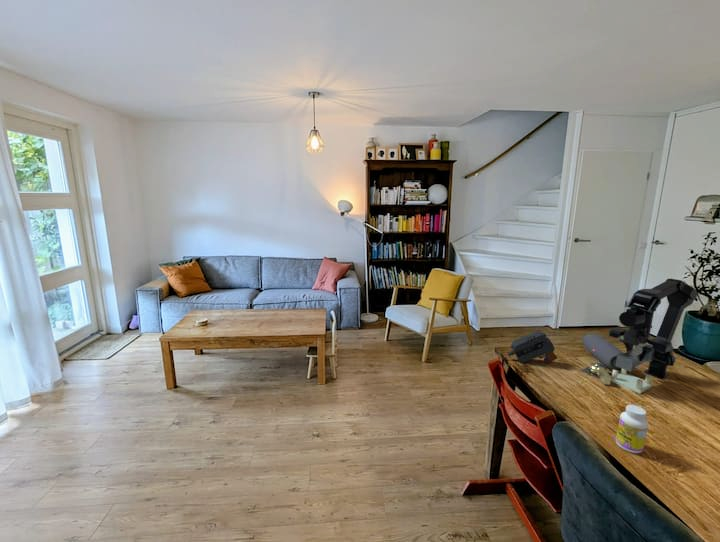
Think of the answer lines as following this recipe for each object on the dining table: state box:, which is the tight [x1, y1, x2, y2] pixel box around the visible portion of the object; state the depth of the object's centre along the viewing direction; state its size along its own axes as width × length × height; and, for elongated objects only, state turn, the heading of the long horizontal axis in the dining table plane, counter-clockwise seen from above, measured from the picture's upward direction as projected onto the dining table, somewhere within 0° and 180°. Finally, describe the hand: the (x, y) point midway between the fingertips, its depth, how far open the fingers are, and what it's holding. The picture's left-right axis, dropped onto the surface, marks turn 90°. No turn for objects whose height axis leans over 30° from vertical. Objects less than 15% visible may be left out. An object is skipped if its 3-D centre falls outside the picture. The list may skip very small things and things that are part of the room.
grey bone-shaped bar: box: [615, 343, 655, 373], centre depth 134 cm, size 19×5×5 cm, turn 119°
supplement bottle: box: [615, 404, 649, 454], centre depth 101 cm, size 7×7×13 cm
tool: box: [507, 330, 558, 364], centre depth 154 cm, size 6×19×15 cm, turn 78°
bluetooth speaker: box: [581, 333, 623, 373], centre depth 153 cm, size 23×9×10 cm, turn 172°
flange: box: [580, 366, 613, 380], centre depth 145 cm, size 9×9×1 cm
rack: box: [610, 368, 654, 394], centre depth 136 cm, size 11×11×4 cm
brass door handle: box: [588, 362, 612, 385], centre depth 141 cm, size 14×6×4 cm, turn 163°
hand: (635, 358), depth 134 cm, fingers closed on grey bone-shaped bar, 3 cm apart
